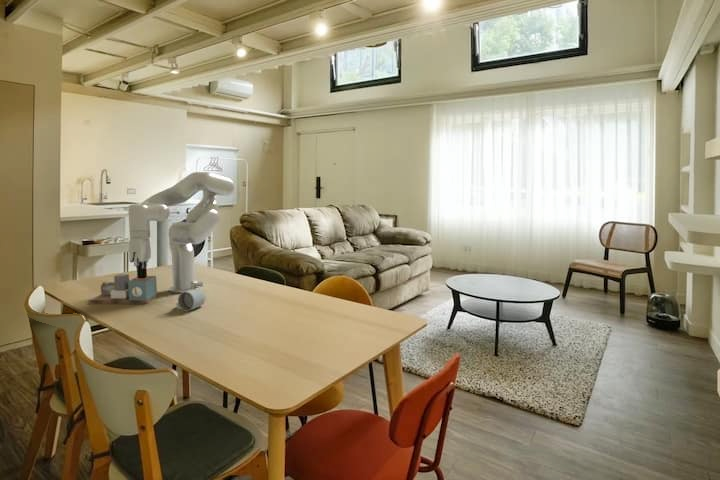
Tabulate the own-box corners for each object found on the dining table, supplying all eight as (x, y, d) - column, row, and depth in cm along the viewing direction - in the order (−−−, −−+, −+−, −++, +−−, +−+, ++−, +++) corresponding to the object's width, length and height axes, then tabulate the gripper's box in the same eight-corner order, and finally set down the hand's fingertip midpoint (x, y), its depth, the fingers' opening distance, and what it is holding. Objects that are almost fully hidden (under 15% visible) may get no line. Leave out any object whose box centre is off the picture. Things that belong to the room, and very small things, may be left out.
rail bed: (157, 297, 185) (156, 282, 184) (146, 303, 175) (145, 287, 174) (102, 297, 184) (101, 281, 183) (89, 303, 174) (88, 287, 173)
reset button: (149, 283, 181) (149, 276, 180) (145, 285, 177) (145, 278, 176) (140, 283, 181) (139, 276, 180) (135, 285, 177) (135, 278, 176)
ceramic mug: (207, 306, 173) (206, 287, 172) (194, 312, 165) (193, 292, 164) (185, 304, 176) (184, 286, 175) (171, 309, 168) (170, 290, 167)
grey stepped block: (134, 294, 183) (132, 273, 181) (125, 298, 176) (124, 277, 174) (119, 294, 182) (118, 273, 181) (111, 298, 175) (109, 277, 174)
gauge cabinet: (157, 293, 185) (156, 275, 183) (145, 300, 174) (144, 281, 173) (140, 293, 184) (139, 275, 183) (128, 300, 174) (127, 281, 173)
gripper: (139, 232, 183) (141, 274, 185) (121, 236, 168) (123, 281, 171) (156, 232, 183) (158, 274, 186) (140, 236, 169) (143, 281, 171)
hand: (142, 277), depth 178 cm, fingers closed
